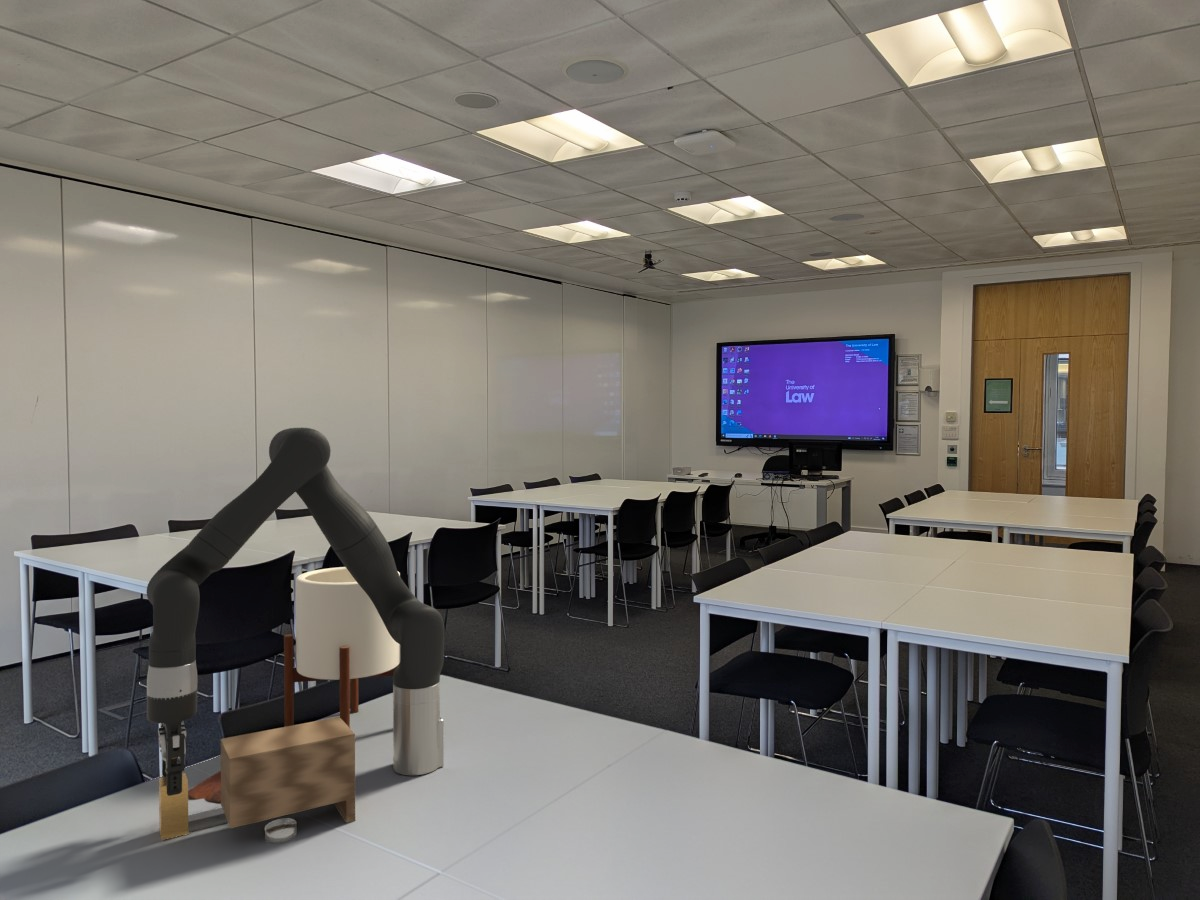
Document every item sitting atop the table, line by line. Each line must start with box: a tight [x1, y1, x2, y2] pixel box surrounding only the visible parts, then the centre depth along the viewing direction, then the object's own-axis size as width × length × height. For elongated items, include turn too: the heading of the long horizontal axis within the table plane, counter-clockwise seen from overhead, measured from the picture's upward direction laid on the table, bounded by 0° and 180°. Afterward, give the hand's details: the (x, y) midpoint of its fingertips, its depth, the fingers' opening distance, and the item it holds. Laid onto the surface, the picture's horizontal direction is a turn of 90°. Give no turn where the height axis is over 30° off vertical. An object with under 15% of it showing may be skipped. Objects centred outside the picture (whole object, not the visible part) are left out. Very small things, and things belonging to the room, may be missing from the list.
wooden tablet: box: [188, 770, 221, 804], centre depth 160 cm, size 27×10×2 cm, turn 169°
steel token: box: [264, 817, 298, 845], centre depth 134 cm, size 5×5×2 cm
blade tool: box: [158, 772, 228, 841], centre depth 140 cm, size 21×4×9 cm, turn 123°
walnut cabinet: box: [220, 716, 356, 830], centre depth 138 cm, size 20×10×15 cm, turn 123°
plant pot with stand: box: [283, 566, 401, 729], centre depth 181 cm, size 22×22×36 cm
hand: (171, 784), depth 135 cm, fingers open, 8 cm apart
